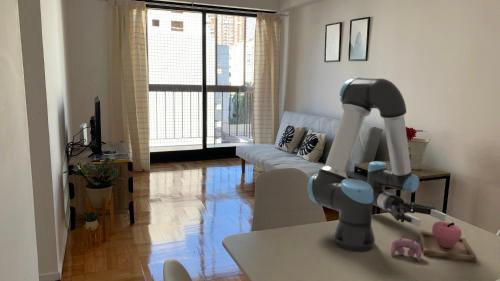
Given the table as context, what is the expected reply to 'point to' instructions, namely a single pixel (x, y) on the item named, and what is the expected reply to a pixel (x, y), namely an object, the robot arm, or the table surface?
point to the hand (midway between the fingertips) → (432, 220)
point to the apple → (446, 234)
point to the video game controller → (407, 243)
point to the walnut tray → (446, 249)
